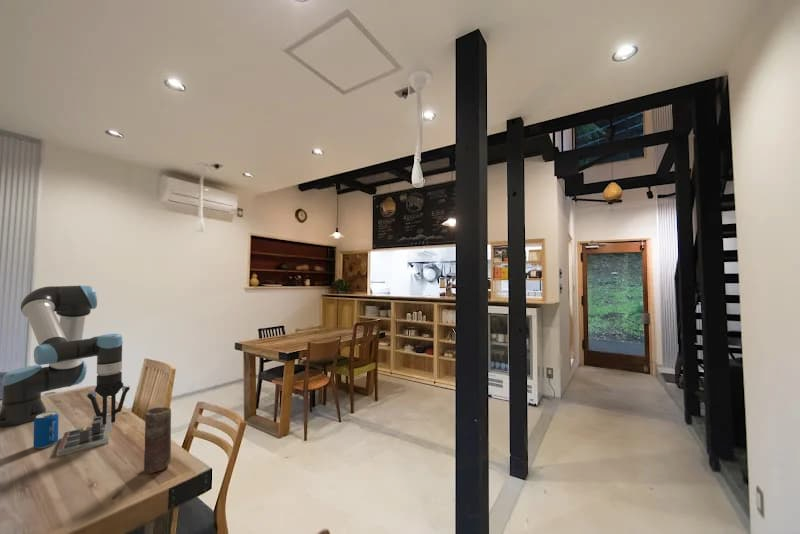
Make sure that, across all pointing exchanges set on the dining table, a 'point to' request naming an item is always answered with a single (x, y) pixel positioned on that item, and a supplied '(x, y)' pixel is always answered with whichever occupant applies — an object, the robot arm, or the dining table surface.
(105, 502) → the dining table surface
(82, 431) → the breaker
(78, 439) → the panel
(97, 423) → the block
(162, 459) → the candle
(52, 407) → the dining table surface
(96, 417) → the breaker
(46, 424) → the beverage can
